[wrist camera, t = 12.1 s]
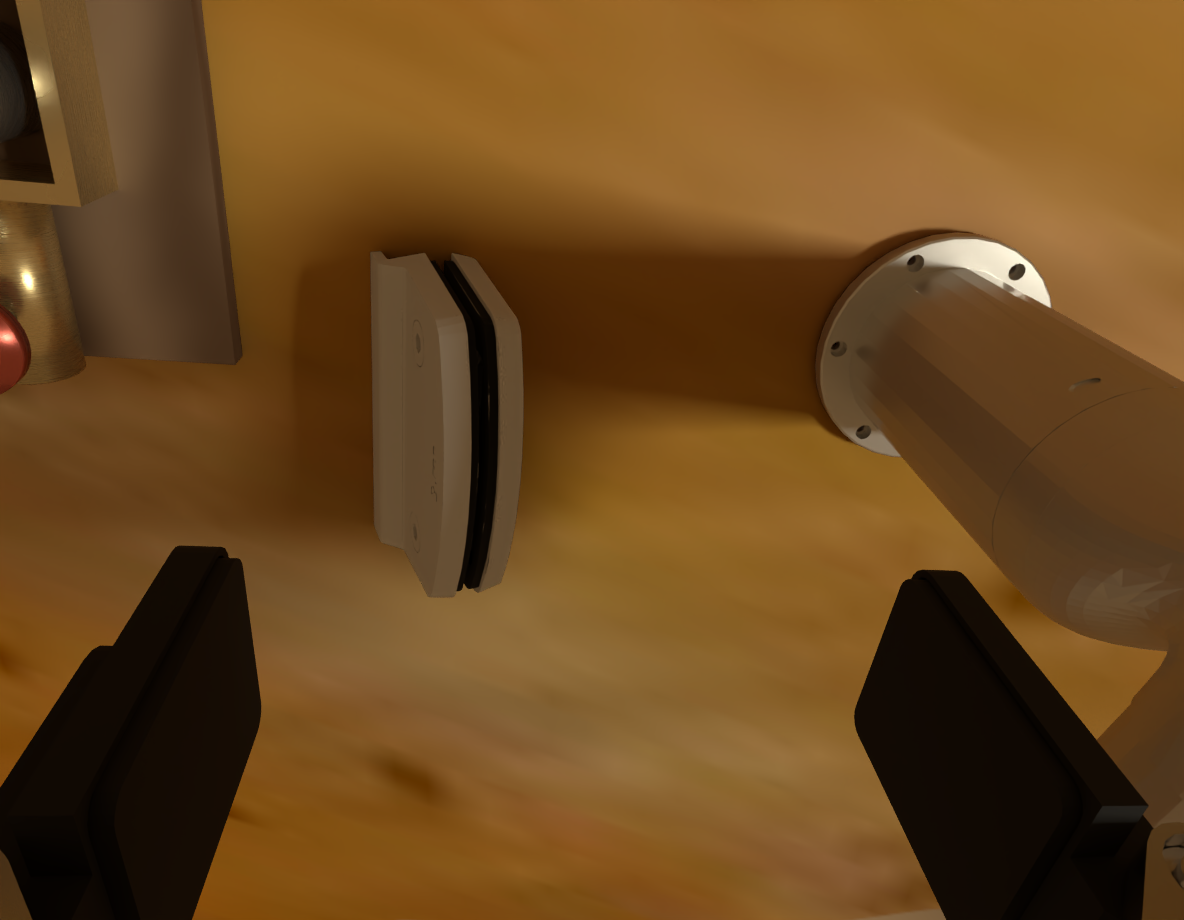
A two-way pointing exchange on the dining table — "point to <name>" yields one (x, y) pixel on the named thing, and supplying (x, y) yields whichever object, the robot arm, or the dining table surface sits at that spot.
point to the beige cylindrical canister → (16, 88)
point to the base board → (149, 194)
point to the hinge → (445, 419)
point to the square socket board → (50, 195)
